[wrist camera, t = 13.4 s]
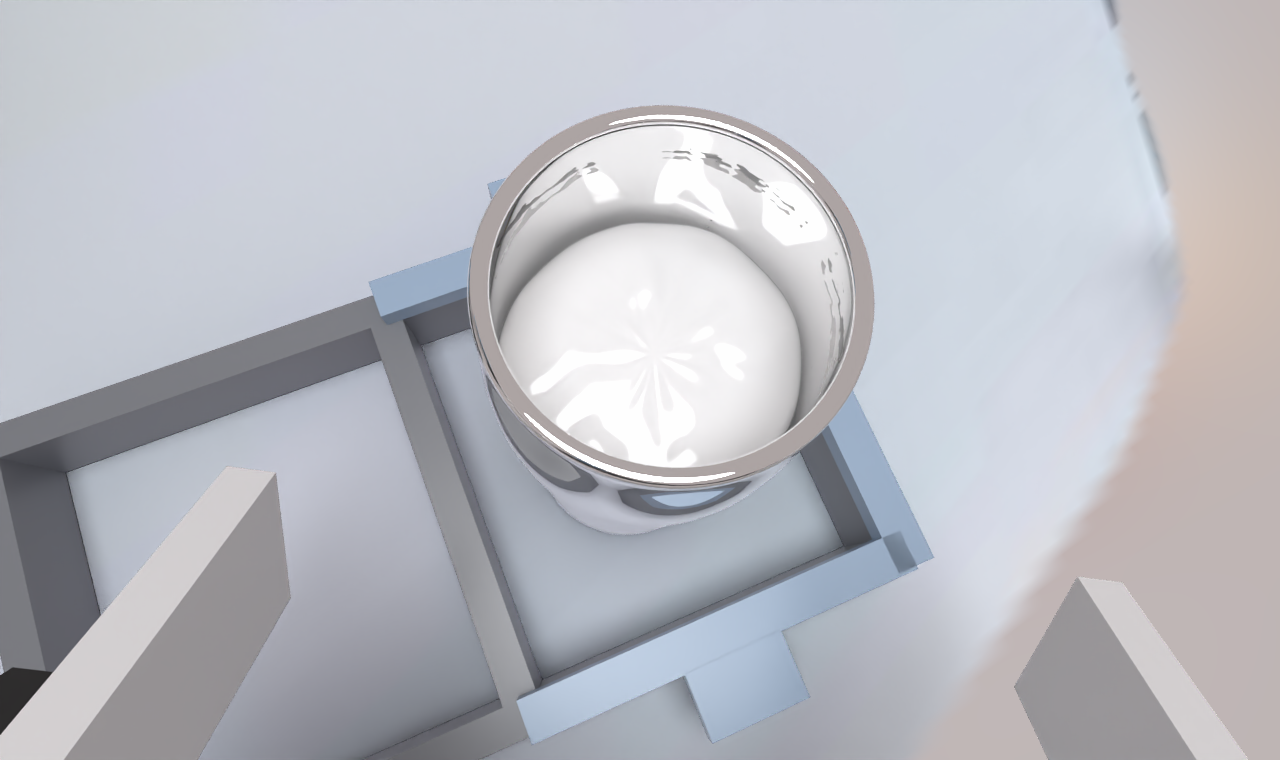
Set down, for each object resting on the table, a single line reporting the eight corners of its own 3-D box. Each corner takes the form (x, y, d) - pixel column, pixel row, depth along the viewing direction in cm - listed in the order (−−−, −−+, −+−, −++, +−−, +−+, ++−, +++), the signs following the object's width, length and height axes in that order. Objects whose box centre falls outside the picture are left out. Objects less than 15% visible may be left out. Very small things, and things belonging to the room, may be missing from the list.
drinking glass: (763, 479, 27) (975, 354, 12) (592, 589, 25) (602, 596, 11) (656, 316, 28) (732, 29, 13) (487, 413, 27) (372, 210, 12)
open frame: (13, 400, 26) (-82, 369, 22) (698, 168, 30) (715, 109, 26) (147, 975, 22) (59, 1054, 18) (911, 617, 26) (966, 622, 22)
